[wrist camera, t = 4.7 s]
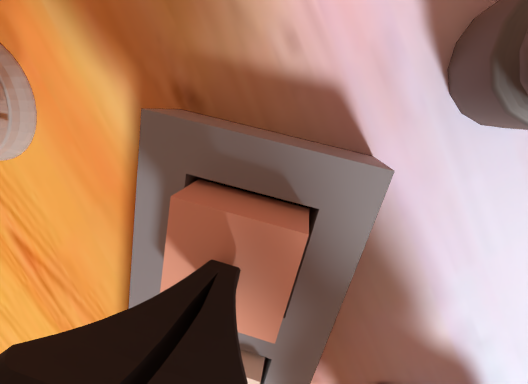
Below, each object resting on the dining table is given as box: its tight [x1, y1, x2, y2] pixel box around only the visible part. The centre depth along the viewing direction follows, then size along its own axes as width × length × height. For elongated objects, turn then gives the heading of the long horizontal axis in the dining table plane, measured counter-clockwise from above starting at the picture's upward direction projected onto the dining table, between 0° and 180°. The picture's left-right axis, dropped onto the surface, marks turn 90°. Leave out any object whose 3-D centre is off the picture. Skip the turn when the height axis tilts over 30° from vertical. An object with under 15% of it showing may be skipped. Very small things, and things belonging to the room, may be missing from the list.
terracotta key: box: [160, 179, 309, 344], centre depth 13 cm, size 6×6×3 cm
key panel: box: [129, 108, 394, 384], centre depth 17 cm, size 12×22×4 cm, turn 168°
